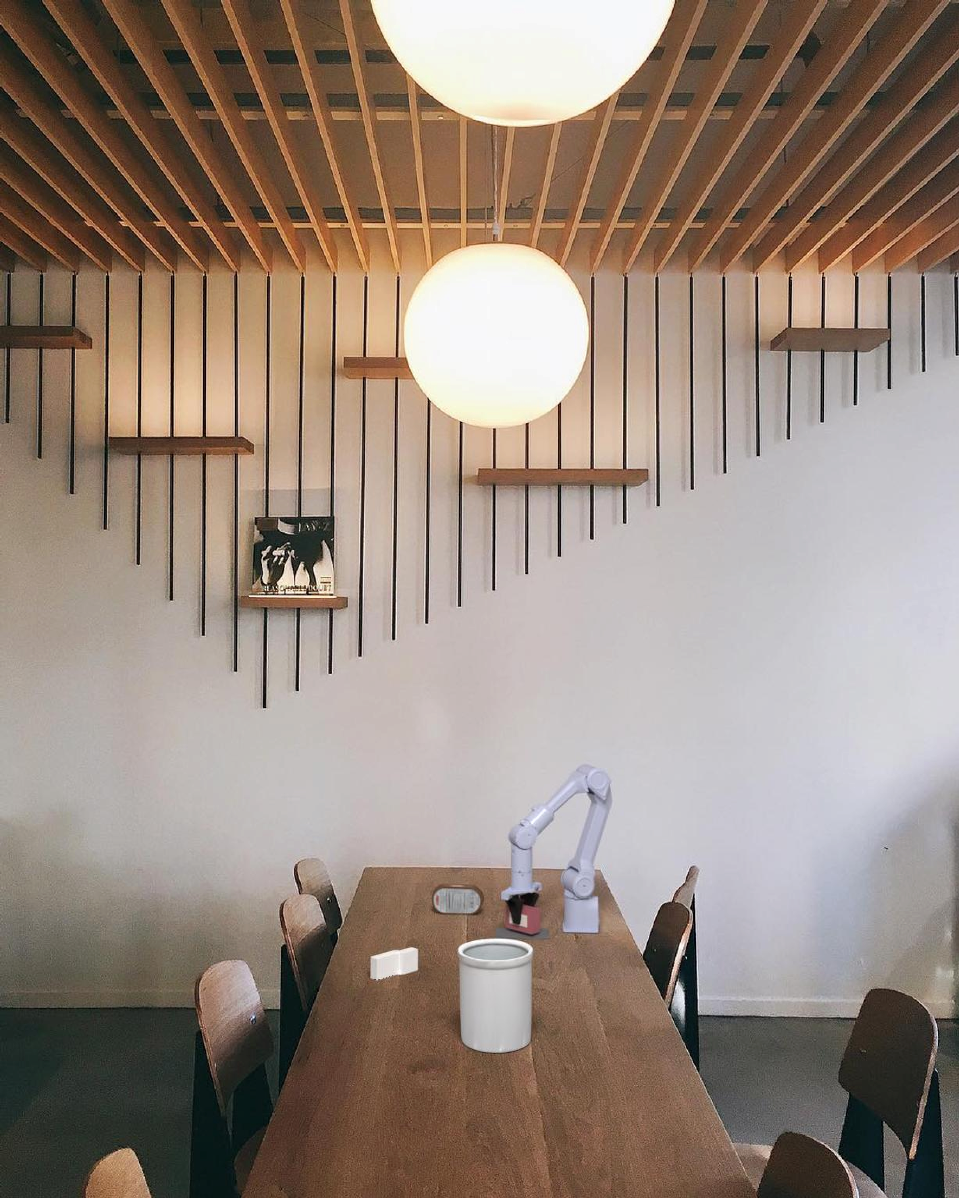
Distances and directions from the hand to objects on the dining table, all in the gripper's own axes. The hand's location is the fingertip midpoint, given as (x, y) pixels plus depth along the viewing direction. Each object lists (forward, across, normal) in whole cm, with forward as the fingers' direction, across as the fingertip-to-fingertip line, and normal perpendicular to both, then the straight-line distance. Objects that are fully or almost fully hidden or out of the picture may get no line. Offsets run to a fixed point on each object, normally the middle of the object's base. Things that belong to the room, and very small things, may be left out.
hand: (521, 921), depth 260 cm
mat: (+3, 0, 0) cm, 3 cm away
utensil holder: (+3, -56, -40) cm, 69 cm away
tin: (+3, +2, +26) cm, 26 cm away
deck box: (+2, 0, 0) cm, 2 cm away
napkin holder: (+4, -44, +1) cm, 44 cm away
